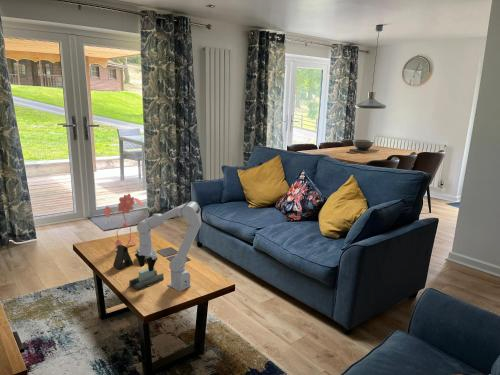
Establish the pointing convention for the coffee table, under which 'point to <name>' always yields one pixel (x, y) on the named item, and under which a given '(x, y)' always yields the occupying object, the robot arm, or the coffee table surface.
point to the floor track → (136, 285)
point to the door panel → (146, 274)
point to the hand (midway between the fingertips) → (146, 268)
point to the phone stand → (122, 258)
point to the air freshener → (153, 252)
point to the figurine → (124, 206)
